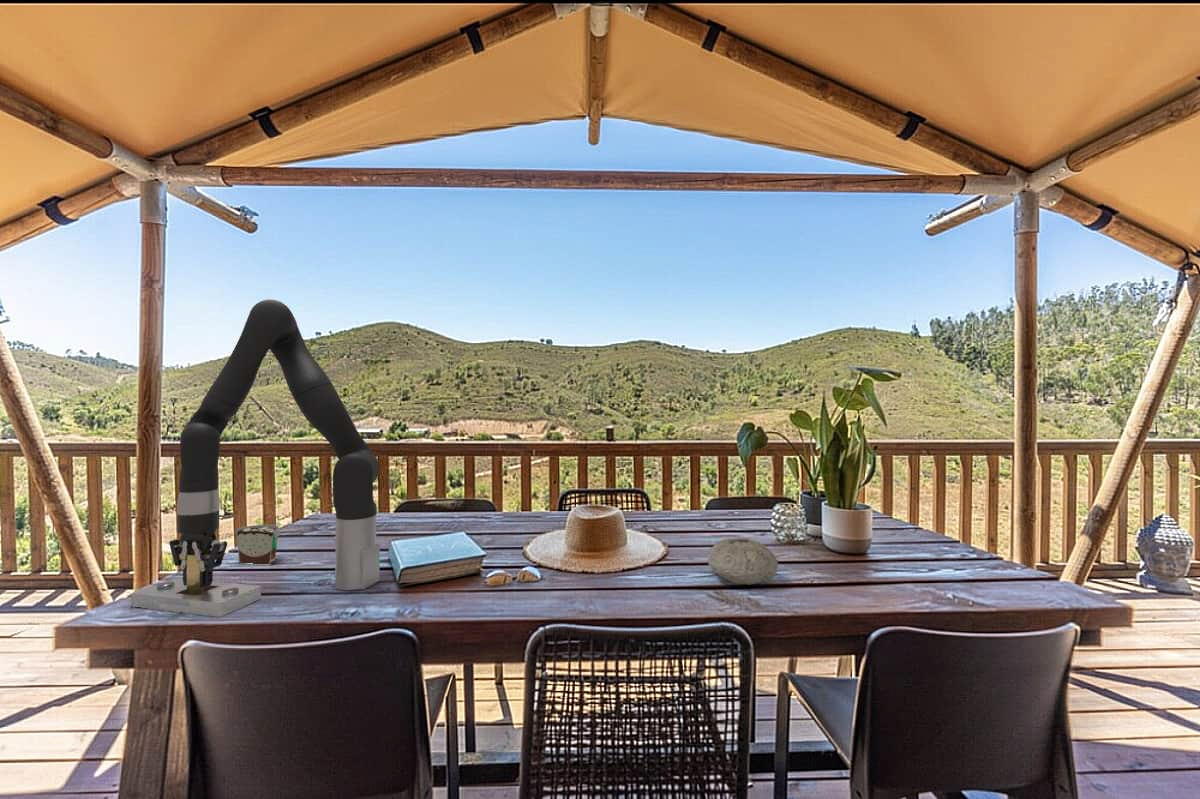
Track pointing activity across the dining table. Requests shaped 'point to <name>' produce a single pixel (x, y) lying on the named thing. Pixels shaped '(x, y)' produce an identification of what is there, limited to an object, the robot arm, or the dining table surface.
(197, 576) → the brass pin
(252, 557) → the food container
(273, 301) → the robot arm
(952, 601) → the dining table surface
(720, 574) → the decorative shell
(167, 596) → the studded base plate
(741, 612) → the dining table surface
